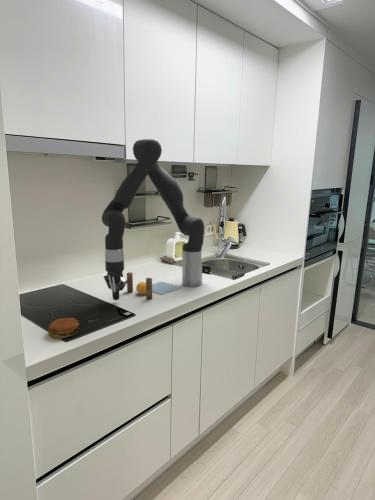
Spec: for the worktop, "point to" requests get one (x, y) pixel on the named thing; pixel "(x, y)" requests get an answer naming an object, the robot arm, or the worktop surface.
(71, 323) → the burger
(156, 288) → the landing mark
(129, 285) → the post
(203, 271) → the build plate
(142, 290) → the ball
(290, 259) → the worktop surface
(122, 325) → the worktop surface
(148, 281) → the post
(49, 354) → the worktop surface
